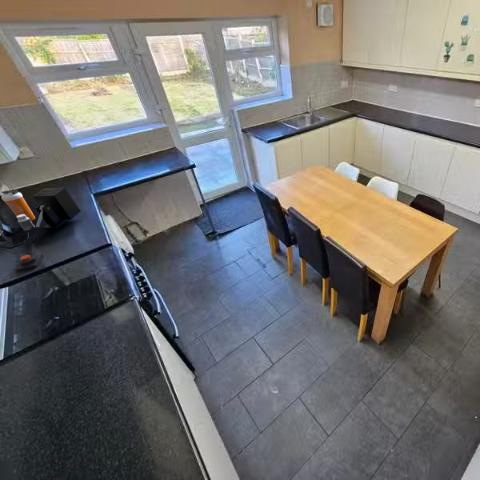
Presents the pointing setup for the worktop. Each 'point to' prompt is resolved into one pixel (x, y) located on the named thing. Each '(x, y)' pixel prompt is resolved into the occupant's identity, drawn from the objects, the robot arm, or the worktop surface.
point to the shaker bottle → (17, 203)
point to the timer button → (25, 258)
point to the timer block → (30, 262)
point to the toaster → (58, 202)
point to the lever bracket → (50, 217)
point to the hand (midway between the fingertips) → (4, 241)
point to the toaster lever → (39, 220)
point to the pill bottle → (25, 222)
